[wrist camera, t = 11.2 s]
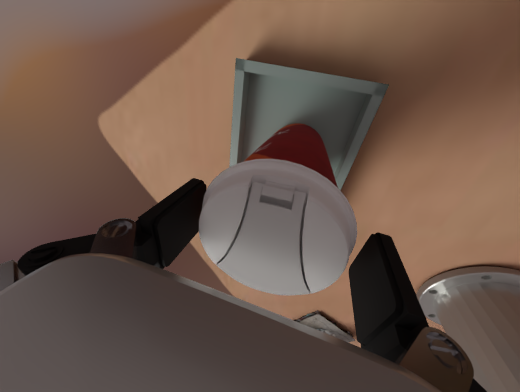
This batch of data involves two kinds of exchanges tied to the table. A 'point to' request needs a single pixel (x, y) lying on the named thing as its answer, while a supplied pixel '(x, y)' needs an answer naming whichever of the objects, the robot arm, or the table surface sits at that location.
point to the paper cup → (280, 217)
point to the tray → (302, 110)
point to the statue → (324, 326)
